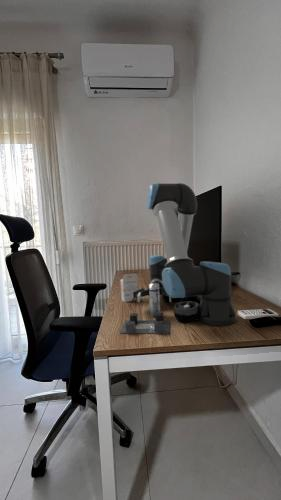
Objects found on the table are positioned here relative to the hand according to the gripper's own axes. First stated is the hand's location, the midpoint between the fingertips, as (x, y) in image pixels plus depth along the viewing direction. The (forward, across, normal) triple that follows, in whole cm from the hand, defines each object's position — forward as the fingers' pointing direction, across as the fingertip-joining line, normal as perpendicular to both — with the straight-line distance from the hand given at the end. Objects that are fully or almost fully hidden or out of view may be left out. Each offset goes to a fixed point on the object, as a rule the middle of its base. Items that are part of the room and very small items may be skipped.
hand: (154, 298), depth 103 cm
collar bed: (+11, +3, -8) cm, 14 cm away
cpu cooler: (+2, -14, -8) cm, 16 cm away
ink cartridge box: (-27, +15, -8) cm, 32 cm away
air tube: (-2, 0, -8) cm, 8 cm away
